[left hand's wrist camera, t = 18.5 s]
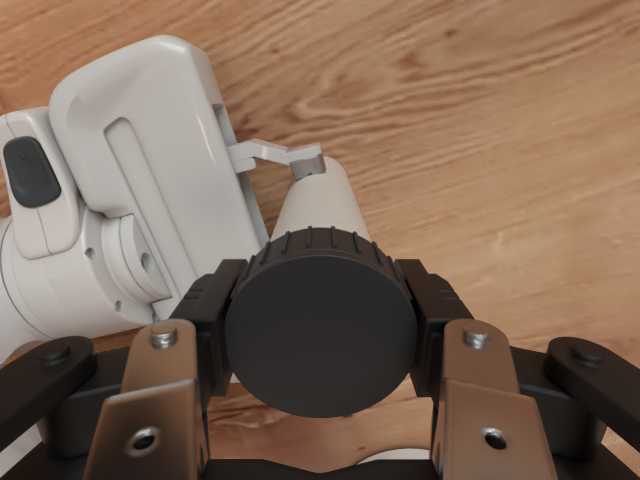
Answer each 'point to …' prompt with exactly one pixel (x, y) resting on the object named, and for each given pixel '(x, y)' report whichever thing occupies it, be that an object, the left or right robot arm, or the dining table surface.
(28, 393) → the left robot arm
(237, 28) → the dining table surface
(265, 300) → the lid
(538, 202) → the dining table surface
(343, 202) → the bottle
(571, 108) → the dining table surface
